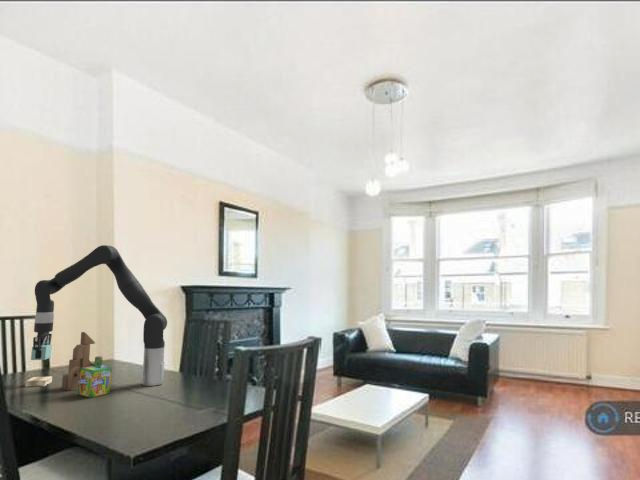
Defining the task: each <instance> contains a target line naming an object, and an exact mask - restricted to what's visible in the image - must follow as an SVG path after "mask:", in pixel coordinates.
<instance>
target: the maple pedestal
mask: <svg viewBox="0 0 640 480" xmlns="http://www.w3.org/2000/svg"><path fill="white" fill-rule="evenodd" d="M52 382H53V376H51V375H50V376H34V377H33V376H32V377H31V378H29V379H27V380H25V387H27V388H28V386H34V387H46V386H47V384H48V385H50V384H51V383H52Z"/></svg>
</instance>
